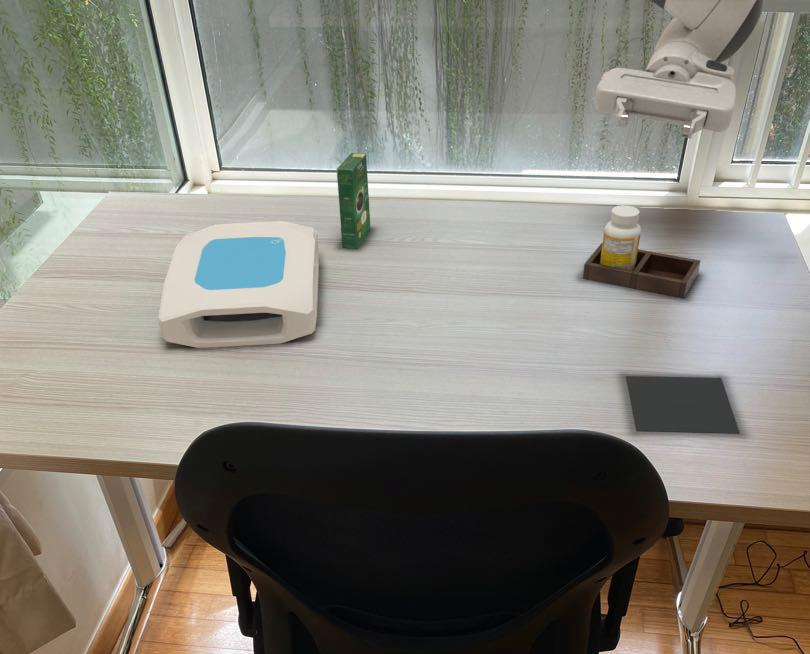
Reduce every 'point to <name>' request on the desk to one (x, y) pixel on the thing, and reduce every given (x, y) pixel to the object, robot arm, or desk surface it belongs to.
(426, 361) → the desk surface
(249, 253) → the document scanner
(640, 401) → the mat
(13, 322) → the desk surface
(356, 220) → the coffee box
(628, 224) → the supplement bottle
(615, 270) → the jar stand
